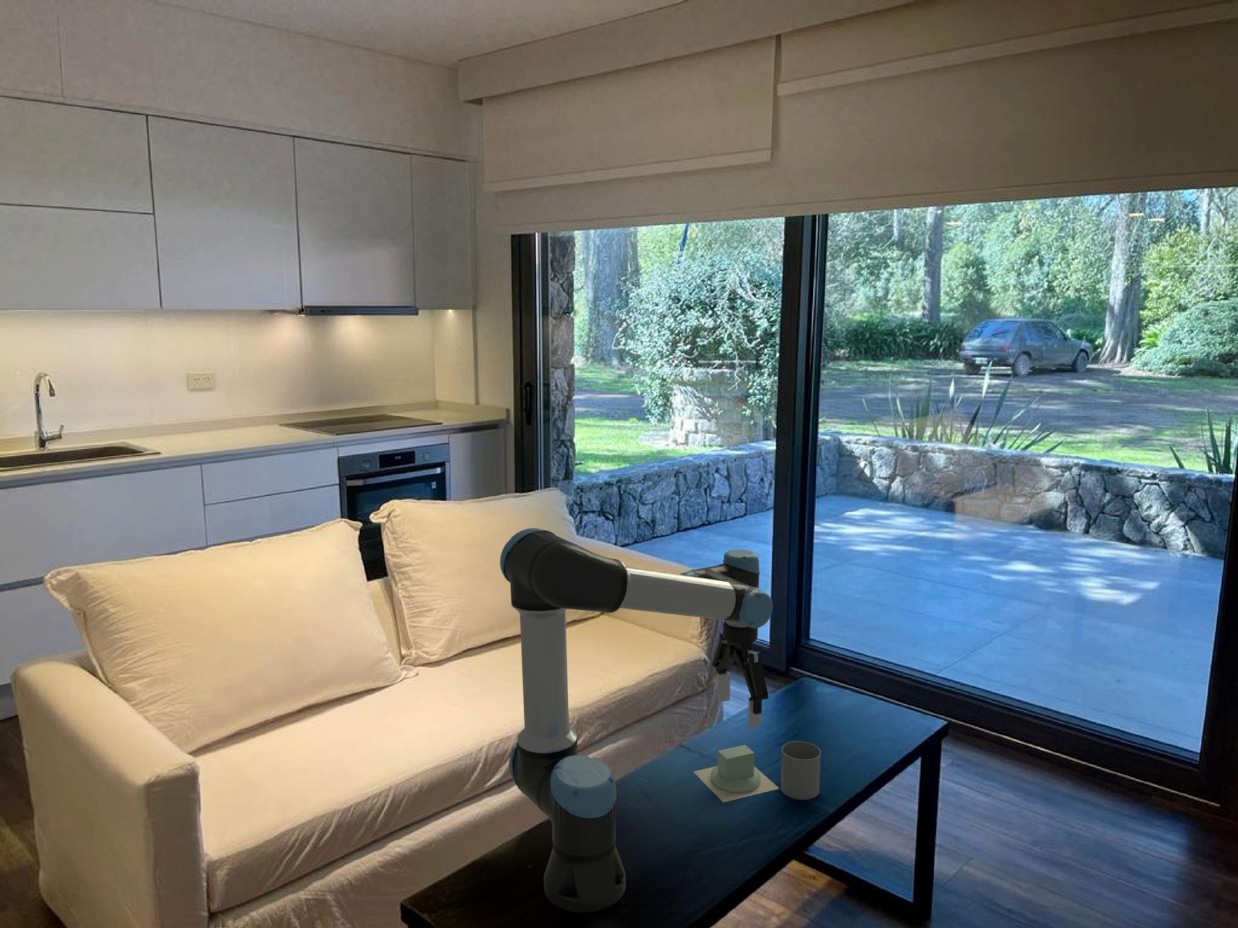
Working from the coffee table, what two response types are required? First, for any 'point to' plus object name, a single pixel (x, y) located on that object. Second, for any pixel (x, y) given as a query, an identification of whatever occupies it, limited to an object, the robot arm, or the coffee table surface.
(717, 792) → the mat
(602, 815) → the robot arm
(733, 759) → the lid
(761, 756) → the coffee table surface
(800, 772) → the cup
